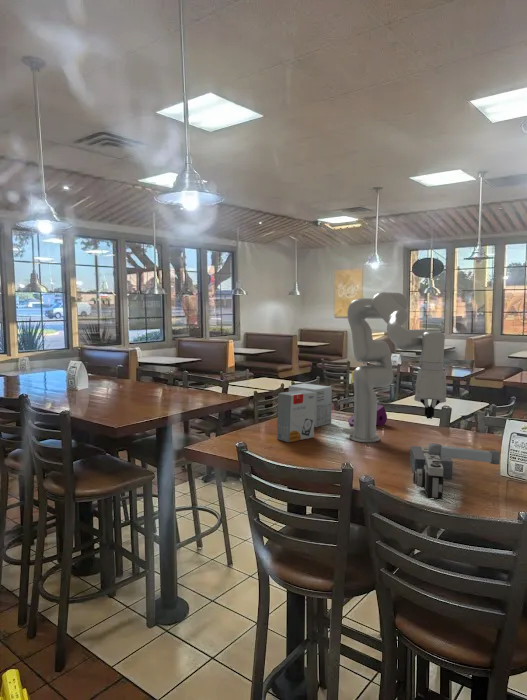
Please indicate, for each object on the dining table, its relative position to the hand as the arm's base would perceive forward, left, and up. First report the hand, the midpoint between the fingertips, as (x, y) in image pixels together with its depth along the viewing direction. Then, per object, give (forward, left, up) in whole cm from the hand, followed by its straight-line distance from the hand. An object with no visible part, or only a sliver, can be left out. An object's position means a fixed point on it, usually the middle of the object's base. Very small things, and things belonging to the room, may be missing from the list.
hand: (428, 417), depth 178 cm
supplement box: (-48, +57, -18) cm, 77 cm away
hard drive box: (-51, +26, -18) cm, 60 cm away
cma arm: (+9, -16, -10) cm, 21 cm away
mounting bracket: (-21, +59, -18) cm, 65 cm away
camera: (-3, -25, -18) cm, 31 cm away
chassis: (0, -6, -18) cm, 19 cm away
